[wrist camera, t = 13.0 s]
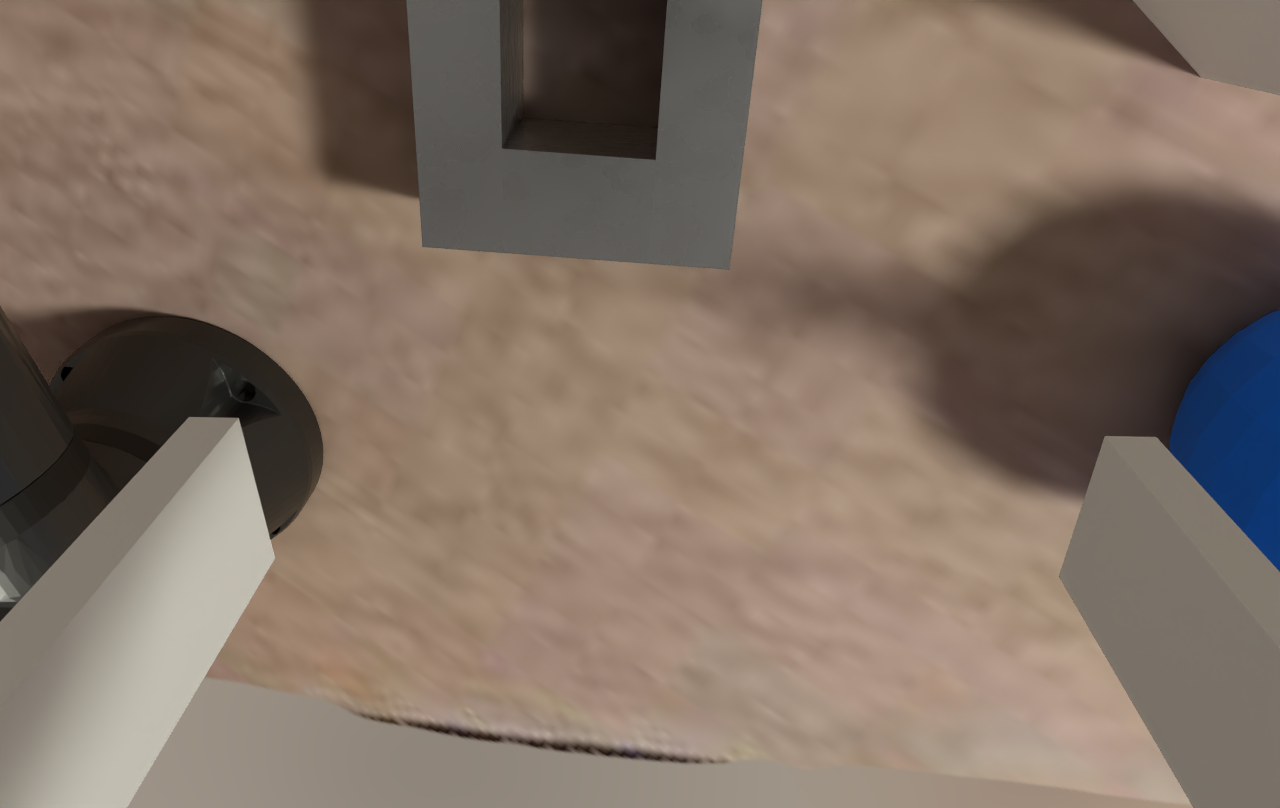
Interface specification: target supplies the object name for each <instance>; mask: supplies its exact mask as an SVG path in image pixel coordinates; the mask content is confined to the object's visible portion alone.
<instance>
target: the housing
mask: <svg viewBox="0 0 1280 808" xmlns="http://www.w3.org/2000/svg"><path fill="white" fill-rule="evenodd" d="M406 3H407V18H408V33H409V49H410V64H411V79H412V94H413V109H414V125H415V140H416V155H417V170H418V185H419V201H420V216H421V231H422V246H423V247H431V248H444V249H458V250H471V251H485V252H498V253H512V254H525V255H539V256H552V257H566V258H579V259H593V260H606V261H620V262H634V263H647V264H661V265H674V266H688V267H701V268H715V269H728V270H729V268H730V260H731V252H732V244H733V236H734V228H735V219H736V211H737V203H738V195H739V187H740V179H741V170H742V162H743V154H744V146H745V138H746V130H747V121H748V113H749V105H750V97H751V89H752V81H753V73H754V64H755V56H756V48H757V40H758V32H759V24H760V15H761V7H762V0H667V11H666V25H665V39H664V53H663V66H662V80H661V94H660V108H659V122H658V128H653V127H639V126H625V125H612V124H598V123H585V122H571V121H558V120H544V119H531V118H523V0H406Z"/></svg>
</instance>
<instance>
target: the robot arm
mask: <svg viewBox="0 0 1280 808" xmlns="http://www.w3.org/2000/svg"><path fill="white" fill-rule="evenodd" d="M322 464H323V443H322V437H321V432H320V429H319V425H318V422H317V419H316V417H315V414H314V412H313V410H312V408H311V406H310V404H309V402H308V401H307V399H306V397H305V396H304V394H303V393H302V391H301V390H300V389H299V387H298V386H297V385H296V383H295V382H294V381H293V380H292V378H291V377H290V376H289V375H288V374H287V373H286V372H285V371H284V370H283V369H282V368H281V367H280V366H279V365H278V364H277V363H276V362H274V361H273V360H272V359H271V358H270V357H268V356H267V355H266V354H265V353H263V352H262V351H260V350H259V349H258V348H256V347H255V346H253V345H251V344H250V343H248V342H246V341H245V340H243V339H241V338H239V337H237V336H235V335H233V334H231V333H229V332H227V331H224V330H222V329H220V328H217V327H214V326H211V325H208V324H205V323H201V322H197V321H193V320H188V319H182V318H174V317H146V318H138V319H133V320H129V321H125V322H122V323H119V324H116V325H114V326H112V327H110V328H107V329H106V330H104V331H102V332H101V333H99V334H98V335H96V336H95V337H94V338H92V339H91V340H90V341H88V342H87V343H86V344H84V345H83V346H82V347H81V348H79V349H78V350H77V351H75V352H74V353H73V354H72V355H71V356H70V357H69V358H68V359H67V360H66V361H65V362H64V363H63V364H62V365H61V367H60V368H59V369H58V371H57V372H56V374H55V376H54V377H53V379H52V381H51V383H50V385H49V386H48V384H47V382H46V381H45V379H44V377H43V376H42V374H41V372H40V371H39V369H38V367H37V366H36V364H35V362H34V361H33V359H32V357H31V356H30V354H29V353H28V351H27V349H26V348H25V346H24V344H23V343H22V341H21V339H20V338H19V336H18V334H17V333H16V331H15V329H14V328H13V326H12V325H11V323H10V321H9V320H8V318H7V316H6V315H5V313H4V311H3V310H2V308H1V306H0V808H127V807H128V805H129V803H130V802H131V800H132V798H133V796H134V795H135V793H136V791H137V790H138V788H139V786H140V785H141V783H142V781H143V779H144V778H145V776H146V775H147V773H148V771H149V770H150V768H151V766H152V764H153V763H154V761H155V759H156V758H157V756H158V754H159V753H160V751H161V749H162V748H163V746H164V744H165V743H166V741H167V739H168V738H169V736H170V734H171V732H172V731H173V729H174V727H175V726H176V724H177V722H178V720H179V719H180V717H181V716H182V714H183V712H184V711H185V709H186V707H187V706H188V704H189V702H190V700H191V699H192V697H193V695H194V693H195V692H196V690H197V689H198V687H199V685H200V684H201V682H202V680H203V679H204V677H205V675H206V674H207V672H208V670H209V668H210V667H211V665H212V663H213V662H214V660H215V658H216V657H217V655H218V653H219V652H220V650H221V648H222V647H223V645H224V643H225V642H226V640H227V638H228V636H229V635H230V633H231V631H232V630H233V628H234V626H235V625H236V623H237V621H238V620H239V618H240V616H241V615H242V613H243V611H244V610H245V608H246V606H247V604H248V603H249V601H250V599H251V598H252V596H253V594H254V593H255V591H256V589H257V588H258V586H259V584H260V583H261V581H262V579H263V578H264V576H265V574H266V572H267V571H268V569H269V567H270V566H271V564H272V562H273V561H274V559H275V556H274V552H273V548H272V544H271V541H270V540H271V539H272V538H274V537H275V536H277V535H278V534H280V533H281V532H282V531H283V530H285V529H286V528H287V527H288V526H289V525H290V524H291V523H292V522H293V521H294V520H295V518H296V517H297V516H298V515H299V513H300V512H301V510H302V509H303V507H304V505H305V504H306V502H307V500H308V499H309V497H310V496H311V494H312V492H313V491H314V489H315V487H316V485H317V483H318V480H319V477H320V474H321V470H322ZM1059 577H1060V579H1061V581H1062V583H1063V584H1064V586H1065V588H1066V590H1067V591H1068V593H1069V595H1070V596H1071V598H1072V600H1073V602H1074V603H1075V605H1076V607H1077V608H1078V610H1079V612H1080V614H1081V615H1082V617H1083V619H1084V620H1085V622H1086V624H1087V626H1088V627H1089V629H1090V631H1091V632H1092V634H1093V636H1094V638H1095V639H1096V641H1097V643H1098V644H1099V646H1100V648H1101V650H1102V651H1103V653H1104V655H1105V656H1106V658H1107V660H1108V662H1109V663H1110V665H1111V667H1112V668H1113V670H1114V672H1115V674H1116V675H1117V677H1118V679H1119V680H1120V682H1121V684H1122V686H1123V687H1124V689H1125V691H1126V693H1127V694H1128V696H1129V698H1130V699H1131V701H1132V703H1133V705H1134V706H1135V708H1136V710H1137V711H1138V713H1139V715H1140V717H1141V718H1142V720H1143V722H1144V723H1145V725H1146V727H1147V729H1148V730H1149V732H1150V734H1151V735H1152V737H1153V739H1154V741H1155V742H1156V744H1157V746H1158V747H1159V749H1160V751H1161V753H1162V754H1163V756H1164V758H1165V759H1166V761H1167V763H1168V765H1169V766H1170V768H1171V770H1172V771H1173V773H1174V775H1175V777H1176V778H1177V780H1178V782H1179V783H1180V785H1181V787H1182V789H1183V790H1184V792H1185V794H1186V796H1187V797H1188V799H1189V801H1190V802H1191V804H1192V806H1193V808H1280V572H1279V571H1278V569H1277V568H1276V567H1275V566H1274V565H1273V564H1272V563H1271V562H1270V561H1269V560H1268V559H1267V557H1266V556H1265V555H1264V554H1263V553H1262V552H1261V551H1260V550H1259V549H1258V548H1257V547H1256V545H1255V544H1254V543H1253V542H1252V541H1251V540H1250V539H1249V538H1248V537H1247V536H1246V534H1245V533H1244V532H1243V531H1242V530H1241V529H1240V528H1239V527H1238V526H1237V525H1236V524H1235V522H1234V521H1233V520H1232V519H1231V518H1230V517H1229V516H1228V515H1227V514H1226V513H1225V512H1224V510H1223V509H1222V508H1221V507H1220V506H1219V505H1218V504H1217V503H1216V502H1215V501H1214V500H1213V498H1212V497H1211V496H1210V495H1209V494H1208V493H1207V492H1206V491H1205V490H1204V489H1203V488H1202V486H1201V485H1200V484H1199V483H1198V482H1197V481H1196V480H1195V479H1194V478H1193V477H1192V476H1191V474H1190V473H1189V472H1188V471H1187V470H1186V469H1185V468H1184V467H1183V466H1182V465H1181V463H1180V462H1179V461H1178V460H1177V459H1176V458H1175V457H1174V456H1173V455H1172V454H1171V453H1170V451H1169V450H1168V449H1167V448H1166V447H1165V446H1164V445H1163V444H1162V443H1161V442H1160V441H1159V439H1158V438H1157V437H1131V436H1105V437H1104V440H1103V443H1102V446H1101V449H1100V452H1099V455H1098V458H1097V461H1096V464H1095V468H1094V471H1093V474H1092V477H1091V480H1090V483H1089V486H1088V489H1087V492H1086V495H1085V498H1084V501H1083V504H1082V507H1081V510H1080V514H1079V517H1078V520H1077V523H1076V526H1075V529H1074V532H1073V535H1072V538H1071V541H1070V544H1069V547H1068V550H1067V553H1066V556H1065V559H1064V563H1063V566H1062V569H1061V572H1060V575H1059Z"/></svg>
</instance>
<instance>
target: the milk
mask: <svg viewBox="0 0 1280 808" xmlns="http://www.w3.org/2000/svg"><path fill="white" fill-rule="evenodd" d="M1133 1H1134V3H1135V4H1136V5H1137V6H1138V7H1139V8H1140V9H1141V10H1142V12H1143V13H1144V14H1145V15H1146V16H1147V17H1148V18H1149V19H1150V21H1151V22H1152V23H1153V24H1154V25H1155V26H1156V27H1157V28H1158V30H1159V31H1160V32H1161V33H1162V34H1163V35H1164V36H1165V37H1166V39H1167V40H1168V41H1169V42H1170V43H1171V44H1172V45H1173V46H1174V48H1175V49H1176V50H1177V51H1178V52H1179V53H1180V54H1181V55H1182V57H1183V58H1184V59H1185V60H1186V61H1187V62H1188V63H1189V64H1190V66H1191V67H1192V68H1193V69H1194V70H1195V71H1196V72H1197V73H1198V75H1199V76H1200V77H1201V78H1206V79H1210V80H1214V81H1219V82H1223V83H1228V84H1232V85H1237V86H1241V87H1245V88H1250V89H1254V90H1259V91H1263V92H1268V93H1272V94H1276V95H1280V0H1133Z"/></svg>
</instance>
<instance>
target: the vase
mask: <svg viewBox="0 0 1280 808" xmlns="http://www.w3.org/2000/svg"><path fill="white" fill-rule="evenodd" d="M1169 451H1170V453H1171V454H1172V455H1173V456H1174V457H1175V458H1176V459H1177V460H1178V461H1179V462H1180V463H1181V465H1182V466H1183V467H1184V468H1185V469H1186V470H1187V471H1188V472H1189V473H1190V474H1191V476H1192V477H1193V478H1194V479H1195V480H1196V481H1197V482H1198V483H1199V484H1200V485H1201V486H1202V488H1203V489H1204V490H1205V491H1206V492H1207V493H1208V494H1209V495H1210V496H1211V497H1212V498H1213V500H1214V501H1215V502H1216V503H1217V504H1218V505H1219V506H1220V507H1221V508H1222V509H1223V510H1224V512H1225V513H1226V514H1227V515H1228V516H1229V517H1230V518H1231V519H1232V520H1233V521H1234V522H1235V524H1236V525H1237V526H1238V527H1239V528H1240V529H1241V530H1242V531H1243V532H1244V533H1245V534H1246V536H1247V537H1248V538H1249V539H1250V540H1251V541H1252V542H1253V543H1254V544H1255V545H1256V547H1257V548H1258V549H1259V550H1260V551H1261V552H1262V553H1263V554H1264V555H1265V556H1266V557H1267V559H1268V560H1269V561H1270V562H1271V563H1272V564H1273V565H1274V566H1275V567H1276V568H1277V569H1278V571H1279V572H1280V309H1279V310H1277V311H1274V312H1271V313H1269V314H1267V315H1265V316H1264V317H1262V318H1260V319H1259V320H1257V321H1255V322H1254V323H1252V324H1250V325H1249V326H1247V327H1246V328H1244V329H1242V330H1241V331H1239V332H1237V333H1236V334H1234V335H1233V336H1232V337H1231V338H1230V339H1229V340H1228V341H1227V342H1225V343H1224V344H1223V345H1222V346H1221V347H1220V348H1219V349H1218V350H1217V351H1216V352H1214V353H1213V354H1212V355H1211V356H1210V357H1209V358H1208V359H1207V360H1206V362H1205V363H1204V364H1203V366H1202V367H1201V368H1200V370H1199V371H1198V373H1197V374H1196V375H1195V377H1194V378H1193V379H1192V381H1191V382H1190V384H1189V385H1188V386H1187V389H1186V391H1185V394H1184V396H1183V399H1182V401H1181V404H1180V406H1179V409H1178V411H1177V414H1176V417H1175V421H1174V425H1173V429H1172V432H1171V436H1170V446H1169Z"/></svg>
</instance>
